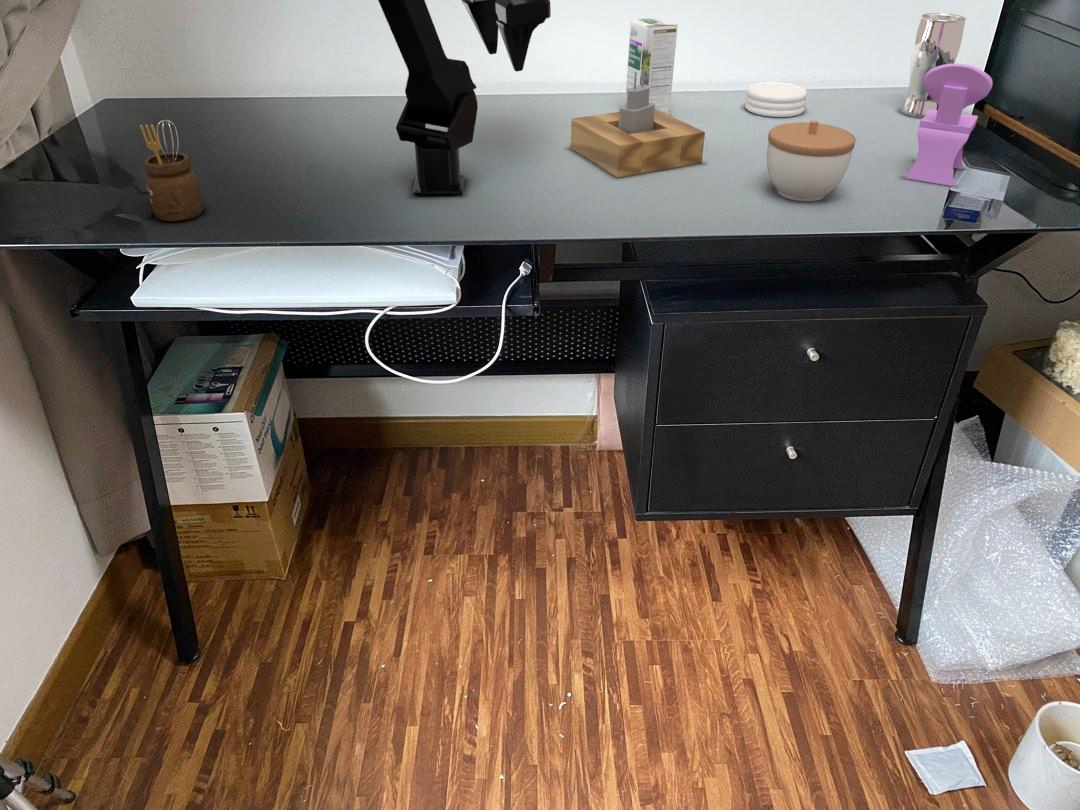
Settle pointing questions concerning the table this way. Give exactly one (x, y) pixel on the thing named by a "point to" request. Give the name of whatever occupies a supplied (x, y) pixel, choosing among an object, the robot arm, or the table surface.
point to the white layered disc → (775, 99)
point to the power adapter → (637, 110)
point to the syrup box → (652, 59)
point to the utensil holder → (171, 182)
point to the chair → (947, 121)
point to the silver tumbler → (931, 57)
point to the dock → (636, 144)
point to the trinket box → (808, 159)
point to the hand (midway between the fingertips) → (505, 62)
